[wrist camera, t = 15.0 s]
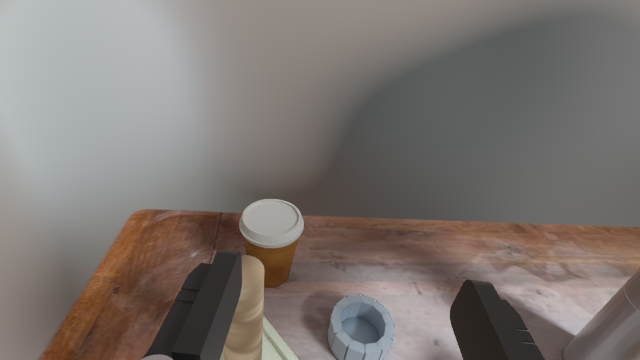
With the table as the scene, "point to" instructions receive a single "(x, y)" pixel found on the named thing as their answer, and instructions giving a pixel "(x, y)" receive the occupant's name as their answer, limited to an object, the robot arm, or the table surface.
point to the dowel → (247, 315)
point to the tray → (272, 345)
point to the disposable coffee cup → (272, 236)
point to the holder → (360, 329)
